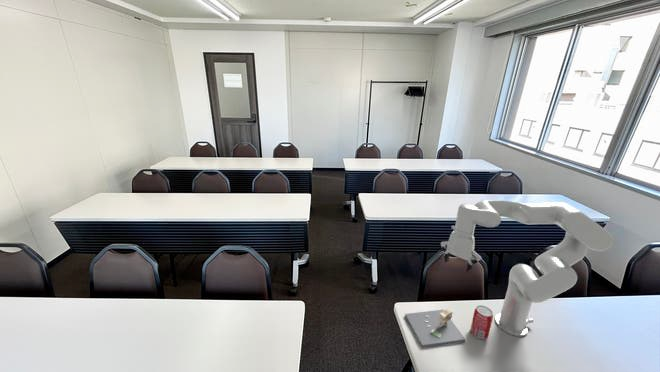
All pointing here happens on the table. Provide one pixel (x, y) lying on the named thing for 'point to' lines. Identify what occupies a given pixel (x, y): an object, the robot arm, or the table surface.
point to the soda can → (481, 322)
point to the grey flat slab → (426, 323)
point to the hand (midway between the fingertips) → (457, 265)
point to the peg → (444, 318)
